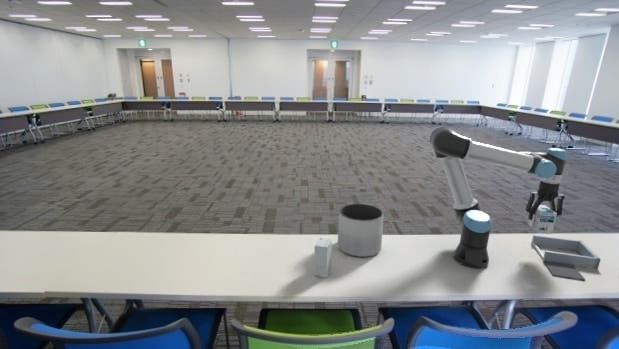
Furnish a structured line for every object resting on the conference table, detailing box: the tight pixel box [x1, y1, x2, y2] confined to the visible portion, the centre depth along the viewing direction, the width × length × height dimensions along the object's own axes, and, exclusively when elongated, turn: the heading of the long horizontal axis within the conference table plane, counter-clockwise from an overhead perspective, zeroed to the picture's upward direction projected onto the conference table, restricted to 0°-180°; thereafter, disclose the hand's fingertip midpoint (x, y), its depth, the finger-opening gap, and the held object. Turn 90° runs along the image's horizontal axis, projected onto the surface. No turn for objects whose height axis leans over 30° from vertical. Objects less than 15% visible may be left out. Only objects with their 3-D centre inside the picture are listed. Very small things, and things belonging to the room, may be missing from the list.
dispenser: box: [531, 234, 601, 270], centre depth 162 cm, size 22×18×5 cm
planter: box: [337, 203, 384, 258], centre depth 165 cm, size 22×22×20 cm
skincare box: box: [314, 237, 332, 279], centre depth 144 cm, size 8×6×15 cm
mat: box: [542, 260, 586, 281], centre depth 149 cm, size 12×12×1 cm
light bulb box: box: [526, 203, 558, 235], centre depth 157 cm, size 11×7×11 cm, turn 171°
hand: (539, 226), depth 158 cm, fingers closed on light bulb box, 7 cm apart
